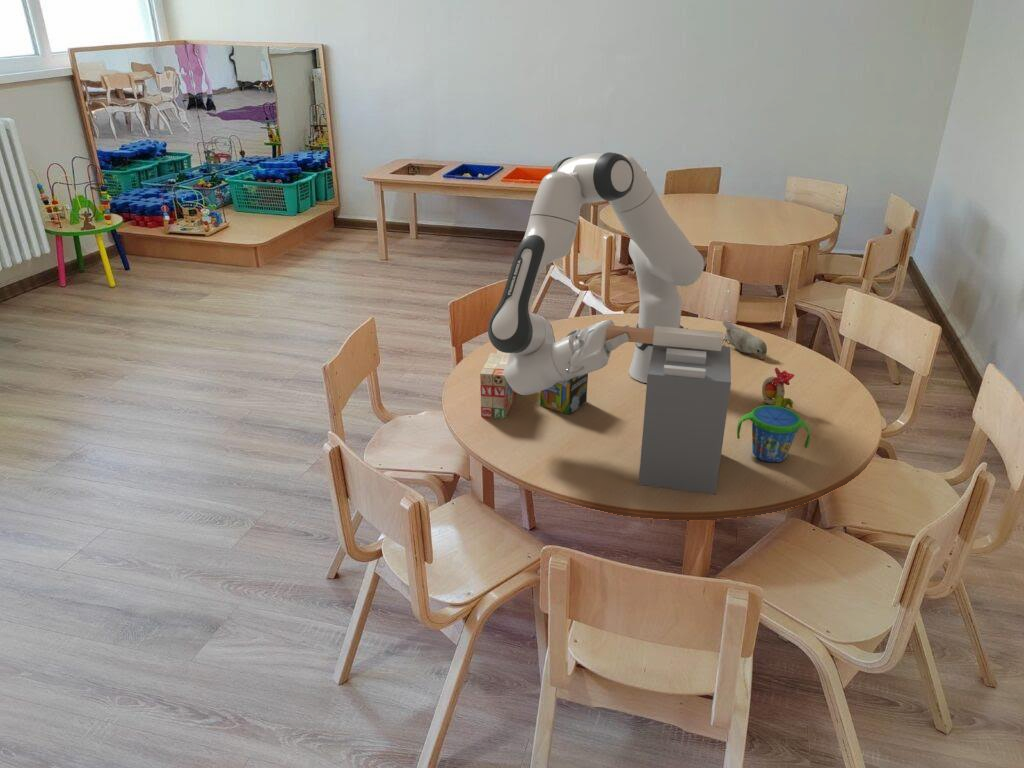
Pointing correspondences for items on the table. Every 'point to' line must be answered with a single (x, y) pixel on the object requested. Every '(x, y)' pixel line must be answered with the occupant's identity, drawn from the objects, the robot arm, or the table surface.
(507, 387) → the stack of blocks
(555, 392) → the chalk box
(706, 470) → the cabinet
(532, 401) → the table surface
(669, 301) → the robot arm
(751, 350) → the decorative bird
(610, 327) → the lever bar
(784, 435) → the snack cup
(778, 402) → the bird rattle
